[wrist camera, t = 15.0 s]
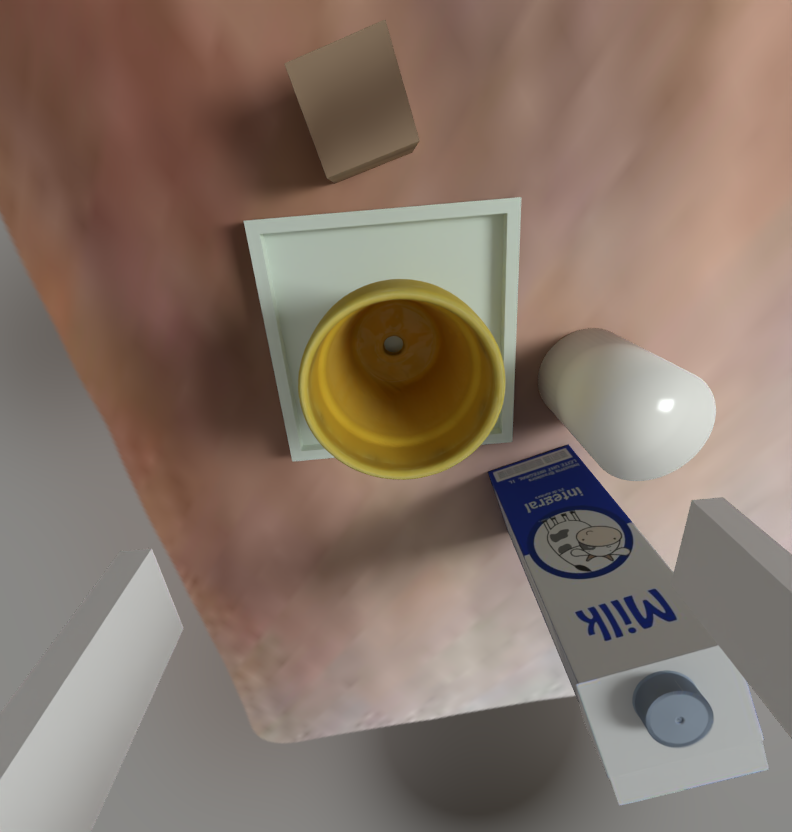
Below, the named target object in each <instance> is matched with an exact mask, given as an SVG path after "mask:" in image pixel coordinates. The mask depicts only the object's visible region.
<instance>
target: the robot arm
mask: <svg viewBox="0 0 792 832" xmlns="http://www.w3.org/2000/svg"><path fill="white" fill-rule="evenodd" d="M671 585H672V587H673V588H674V589H675V590H676V592H677V593H678V594H679V596H680V597H681V598H682V599H683V601H684V602H685V603H686V604H687V606H688V607H689V608H690V610H691V611H692V612H693V613H694V615H695V616H696V617H697V619H698V620H699V621H700V622H701V624H702V625H703V626H704V627H705V629H706V630H707V631H708V633H709V634H710V635H711V636H712V638H713V639H714V640H715V641H716V643H717V644H718V645H719V647H720V648H721V649H722V650H723V652H724V653H725V654H726V656H727V657H728V658H729V659H730V661H731V662H732V663H733V664H734V666H735V667H736V668H737V670H738V671H739V672H740V673H741V675H742V676H743V677H744V679H745V680H746V681H747V682H748V684H749V685H750V686H751V687H752V689H753V690H754V691H755V692H756V694H757V695H758V696H759V698H760V699H761V700H762V701H763V703H764V704H765V705H766V706H767V708H768V709H769V710H770V712H771V713H772V714H773V715H774V717H775V718H776V719H777V721H778V722H779V723H780V724H781V726H782V727H783V728H784V730H785V731H786V732H787V733H788V734H789V736H790V737H791V738H792V555H791V554H790V553H789V552H788V551H787V550H785V549H784V548H783V547H782V546H781V545H779V544H778V543H777V542H776V541H775V540H773V539H772V538H771V537H770V536H769V535H767V534H766V533H765V532H764V531H763V530H761V529H760V528H759V527H758V526H757V525H756V524H754V523H753V522H752V521H751V520H750V519H748V518H747V517H746V516H745V515H744V514H742V513H741V512H740V511H739V510H738V509H736V508H735V507H734V506H733V505H732V504H730V503H729V502H728V501H727V500H726V499H724V498H712V499H700V500H692V502H691V506H690V510H689V514H688V518H687V522H686V526H685V530H684V534H683V538H682V542H681V546H680V550H679V554H678V558H677V562H676V566H675V570H674V574H673V578H672V582H671ZM183 629H184V628H183V625H182V623H181V621H180V618H179V616H178V613H177V610H176V608H175V606H174V603H173V600H172V598H171V596H170V593H169V590H168V588H167V585H166V583H165V580H164V578H163V575H162V573H161V570H160V568H159V565H158V563H157V560H156V558H155V555H154V553H153V550H152V549H151V548H150V549H138V550H128V551H120V552H119V553H118V555H117V556H116V558H115V559H114V560H113V562H112V563H111V564H110V565H109V567H108V568H107V570H106V571H105V572H104V573H103V575H102V576H101V577H100V579H99V580H98V582H97V583H96V584H95V586H94V587H93V588H92V590H91V591H90V592H89V594H88V595H87V596H86V598H85V599H84V600H83V602H82V603H81V604H80V606H79V607H78V609H77V610H76V611H75V612H74V614H73V615H72V616H71V618H70V619H69V621H68V622H67V623H66V625H65V626H64V627H63V629H62V630H61V631H60V633H59V634H58V635H57V637H56V638H55V639H54V641H53V642H52V643H51V645H50V646H49V648H48V649H47V650H46V652H45V653H44V654H43V656H42V657H41V658H40V660H39V661H38V662H37V664H36V665H35V666H34V668H33V669H32V670H31V672H30V673H29V674H28V676H27V677H26V679H25V680H24V681H23V683H22V684H21V685H20V687H19V688H18V689H17V691H16V692H15V693H14V695H13V696H12V697H11V699H10V700H9V702H8V703H7V704H6V705H5V707H4V708H3V709H2V711H1V712H0V832H91V831H92V828H93V826H94V824H95V822H96V820H97V817H98V815H99V813H100V811H101V808H102V806H103V804H104V802H105V800H106V798H107V795H108V793H109V791H110V789H111V786H112V784H113V782H114V780H115V778H116V776H117V773H118V771H119V769H120V767H121V765H122V762H123V760H124V758H125V755H126V754H127V752H128V749H129V747H130V745H131V743H132V740H133V738H134V736H135V734H136V732H137V730H138V727H139V725H140V723H141V721H142V719H143V716H144V714H145V712H146V710H147V708H148V705H149V703H150V701H151V699H152V697H153V694H154V692H155V690H156V688H157V686H158V683H159V681H160V679H161V677H162V675H163V672H164V670H165V668H166V666H167V664H168V662H169V659H170V657H171V655H172V653H173V651H174V648H175V646H176V644H177V642H178V640H179V637H180V635H181V633H182V631H183Z"/></svg>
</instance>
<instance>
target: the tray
mask: <svg viewBox="0 0 792 832" xmlns="http://www.w3.org/2000/svg"><path fill="white" fill-rule="evenodd" d="M520 219H521V197H518V198H506V199H495V200H483V201H471V202H459V203H448V204H436V205H424V206H412V207H401V208H389V209H377V210H365V211H354V212H342V213H330V214H319V215H307V216H295V217H283V218H272V219H260V220H248V221H244V226H245V231H246V236H247V240H248V245H249V250H250V255H251V260H252V265H253V270H254V275H255V280H256V285H257V290H258V295H259V300H260V305H261V309H262V314H263V319H264V324H265V329H266V334H267V339H268V344H269V349H270V354H271V359H272V364H273V369H274V374H275V379H276V383H277V388H278V393H279V398H280V403H281V408H282V413H283V418H284V423H285V428H286V433H287V438H288V443H289V448H290V452H291V457H292V461H303V460H314V459H326V458H335V457H334V456H332V455H331V454H330V453H329V452H328V451H327V450H326V449H325V448H324V447H323V446H322V445H321V444H320V443H319V442H318V440H317V439H316V438H315V436H314V435H313V433H312V432H311V430H310V428H309V426H308V424H307V422H306V420H305V418H304V415H303V412H302V409H301V405H300V400H299V393H298V375H299V369H300V363H301V359H302V356H303V353H304V350H305V348H306V345H307V343H308V341H309V339H310V337H311V335H312V333H313V331H314V330H315V328H316V327H317V325H318V323H319V322H320V320H321V319H322V318H323V317H324V315H325V314H326V313H327V312H328V311H329V309H330V308H331V307H332V306H333V305H335V304H336V303H337V302H338V301H339V300H340V299H342V298H343V297H344V296H346V295H347V294H349V293H351V292H353V291H355V290H357V289H359V288H361V287H363V286H365V285H368V284H371V283H375V282H378V281H383V280H390V279H412V280H418V281H423V282H427V283H430V284H433V285H436V286H439V287H441V288H443V289H445V290H447V291H449V292H450V293H452V294H454V295H455V296H457V297H458V298H459V299H461V300H462V301H463V302H464V303H466V304H467V305H468V306H469V307H470V308H471V309H472V310H473V311H474V312H475V313H476V314H477V315H478V316H479V317H480V318H481V320H482V321H483V322H484V323H485V325H486V326H487V328H488V329H489V330H490V332H491V333H492V335H493V337H494V339H495V341H496V343H497V345H498V347H499V350H500V352H501V356H502V359H503V364H504V369H505V379H506V382H505V396H504V401H503V405H502V409H501V412H500V414H499V417H498V419H497V422H496V424H495V426H494V427H493V429H492V431H491V432H490V434H489V435H488V437H487V438H486V439H485V440H484V442H483V443H482V444H481V445H484V444H495V443H507V442H512V436H513V409H514V381H515V354H516V327H517V300H518V273H519V246H520ZM384 346H385V348H386V349H387V350H388V351H389V352H398V351H400V350H401V349H402V347H403V341H402V339H401V338H399V337H397V336H391V337H389V338H387V339H386V340H385V344H384Z"/></svg>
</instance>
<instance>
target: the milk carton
mask: <svg viewBox="0 0 792 832" xmlns="http://www.w3.org/2000/svg"><path fill="white" fill-rule="evenodd" d="M488 474H489V477H490V480H491V483H492V486H493V489H494V491H495V494H496V497H497V500H498V503H499V506H500V509H501V512H502V515H503V518H504V521H505V524H506V527H507V530H508V533H509V535H510V537H511V540H512V542H513V545H514V547H515V550H516V552H517V554H518V557H519V559H520V562H521V564H522V567H523V569H524V571H525V574H526V576H527V579H528V581H529V583H530V586H531V588H532V591H533V593H534V596H535V598H536V600H537V603H538V605H539V608H540V610H541V612H542V615H543V617H544V620H545V622H546V625H547V627H548V629H549V632H550V634H551V637H552V639H553V641H554V644H555V646H556V649H557V651H558V654H559V656H560V658H561V661H562V663H563V666H564V668H565V671H566V673H567V675H568V678H569V680H570V683H571V685H572V687H573V690H574V692H575V695H576V697H577V699H578V702H579V704H580V707H581V712H582V716H583V720H584V723H585V725H586V727H587V730H588V732H589V734H590V737H591V739H592V742H593V744H594V746H595V749H596V751H597V753H598V756H599V758H600V761H601V763H602V765H603V768H604V770H605V773H606V775H607V777H608V778H609V781H610V783H611V786H612V789H613V791H614V794H615V796H616V799H617V801H618V803H619V805H624V804H628V803H632V802H637V801H641V800H645V799H649V798H653V797H657V796H662V795H666V794H670V793H674V792H678V791H682V790H686V789H691V788H695V787H698V786H703V785H707V784H711V783H715V782H719V781H724V780H728V779H732V778H736V777H740V776H744V775H748V774H753V773H757V772H761V771H765V770H768V769H769V768H768V764H767V759H766V755H765V751H764V747H763V743H762V740H764V737H763V734H762V731H761V727H760V724H759V720H758V717H757V714H756V710H755V707H754V704H753V700H752V697H751V693H750V690H749V687H748V683H747V681H746V680H745V679H744V677H743V676H742V675H741V673H740V672H739V671H738V670H737V668H736V667H735V666H734V664H733V663H732V662H731V661H730V659H729V658H728V657H727V656H726V654H725V653H724V652H723V650H722V649H721V648H720V647H719V645H718V644H717V643H716V641H715V640H714V639H713V638H712V636H711V635H710V634H709V633H708V631H707V630H706V629H705V627H704V626H703V625H702V624H701V622H700V621H699V620H698V619H697V617H696V616H695V615H694V613H693V612H692V611H691V610H690V608H689V607H688V606H687V604H686V603H685V602H684V601H683V599H682V598H681V597H680V596H679V594H678V593H677V592H676V590H675V589H674V588H673V587H672V585H671V582H672V578H673V574H674V572H673V571H672V570H671V569H670V567H669V566H668V565H667V564H666V563H665V561H664V560H663V559H662V558H661V556H660V555H659V554H658V553H657V552H656V550H655V549H654V548H653V547H652V546H651V544H650V543H649V542H648V541H647V539H646V538H645V537H644V536H643V535H642V533H641V532H640V531H639V530H638V529H637V527H636V526H635V525H634V524H633V522H632V521H631V520H630V519H629V518H628V516H627V515H626V514H625V513H624V512H623V510H622V509H621V508H620V507H619V506H618V504H617V503H616V502H615V501H614V499H613V498H612V497H611V496H610V495H609V493H608V492H607V491H606V490H605V489H604V487H603V486H602V485H601V484H600V482H599V481H598V480H597V479H596V478H595V476H594V475H593V474H592V473H591V472H590V470H589V469H588V468H587V467H586V465H585V464H584V463H583V462H582V461H581V459H580V458H579V457H578V456H577V455H576V453H575V452H574V451H573V450H572V448H571V447H570V446H569V444H568V445H566V446H564V447H561V448H558V449H555V450H552V451H549V452H546V453H543V454H540V455H537V456H534V457H531V458H528V459H525V460H522V461H519V462H516V463H513V464H510V465H507V466H504V467H501V468H498V469H495V470H492V471H489V472H488Z"/></svg>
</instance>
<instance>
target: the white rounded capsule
mask: <svg viewBox="0 0 792 832" xmlns="http://www.w3.org/2000/svg"><path fill="white" fill-rule="evenodd" d="M538 389H539V393H540V396H541V398H542V400H543V401H544V403H545V404H546V405H547V406H548V407H549V409H550V410H551V411H552V412H553V413H554V414H555V415H556V417H557V418H558V419H559V420H560V421H561V422H562V423H563V425H564V426H565V427H566V428H567V429H568V430H569V431H570V432H571V434H572V435H573V436H574V437H575V438H576V439H577V440H578V442H579V443H580V444H581V445H582V446H583V447H584V448H585V450H586V451H587V452H588V453H589V454H590V455H591V456H592V458H593V459H594V460H595V461H596V462H597V463H598V464H599V465H600V467H601V468H602V469H603V470H605V471H606V472H607V473H609V474H611V475H612V476H614V477H617V478H620V479H624V480H629V481H645V480H651V479H655V478H659V477H662V476H665V475H667V474H669V473H671V472H673V471H675V470H677V469H679V468H680V467H682V466H683V465H684V464H686V463H687V462H688V461H690V460H691V459H692V458H693V457H694V456H695V455H696V454H697V453H698V452H699V451H700V449H701V448H702V447H703V446H704V444H705V443H706V441H707V439H708V438H709V436H710V433H711V431H712V429H713V426H714V422H715V417H716V405H715V400H714V396H713V394H712V392H711V390H710V388H709V387H708V385H707V384H706V383H705V382H704V381H703V380H702V379H701V378H699V377H697V376H696V375H694V374H692V373H690V372H688V371H687V370H685V369H683V368H681V367H679V366H677V365H675V364H673V363H671V362H669V361H667V360H665V359H663V358H661V357H659V356H657V355H655V354H654V353H652V352H650V351H648V350H646V349H644V348H642V347H640V346H638V345H636V344H634V343H632V342H630V341H628V340H626V339H624V338H622V337H621V336H619V335H617V334H615V333H613V332H610V331H608V330H604V329H599V328H588V329H582V330H579V331H575V332H573V333H571V334H569V335H567V336H565V337H564V338H562V339H561V340H559V341H558V342H557V343H556V344H555V345H554V346H553V347H552V348H551V349H550V350H549V351H548V353H547V354H546V356H545V357H544V359H543V361H542V363H541V366H540V369H539V373H538Z"/></svg>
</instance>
